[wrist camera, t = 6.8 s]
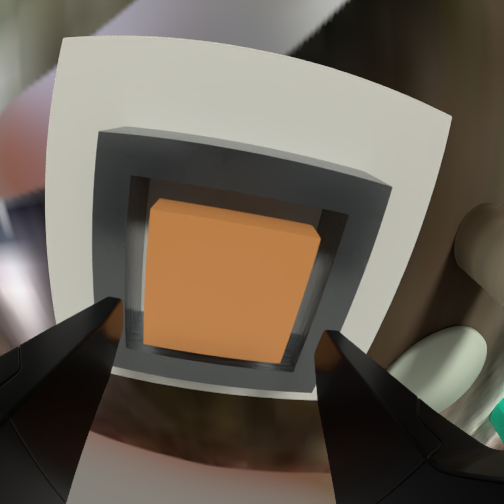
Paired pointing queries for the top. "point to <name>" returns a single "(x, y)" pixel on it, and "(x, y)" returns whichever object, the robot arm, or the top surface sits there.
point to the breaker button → (224, 280)
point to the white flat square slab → (232, 187)
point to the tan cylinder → (483, 248)
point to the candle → (498, 419)
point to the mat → (441, 365)
